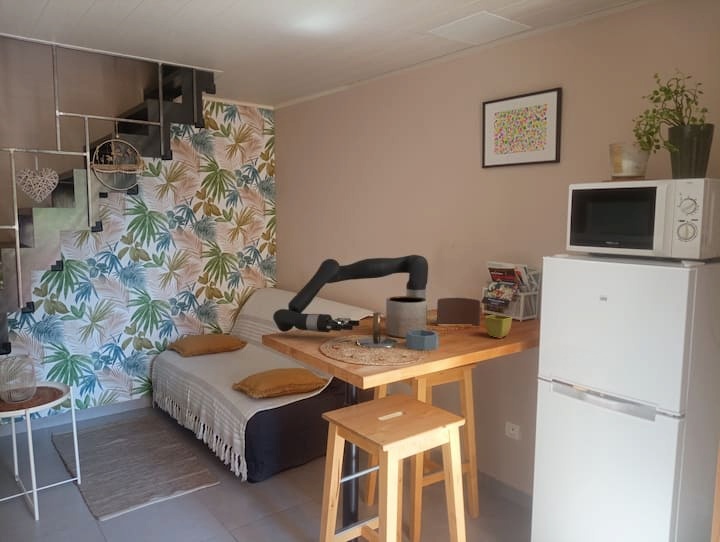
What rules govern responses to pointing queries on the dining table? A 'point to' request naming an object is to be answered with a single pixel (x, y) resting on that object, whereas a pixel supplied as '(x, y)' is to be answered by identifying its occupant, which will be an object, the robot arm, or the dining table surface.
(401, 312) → the planter
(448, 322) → the letter holder
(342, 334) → the dining table surface
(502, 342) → the dining table surface
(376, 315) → the spindle on round base
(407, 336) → the bowl
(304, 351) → the dining table surface
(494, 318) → the flower pot
